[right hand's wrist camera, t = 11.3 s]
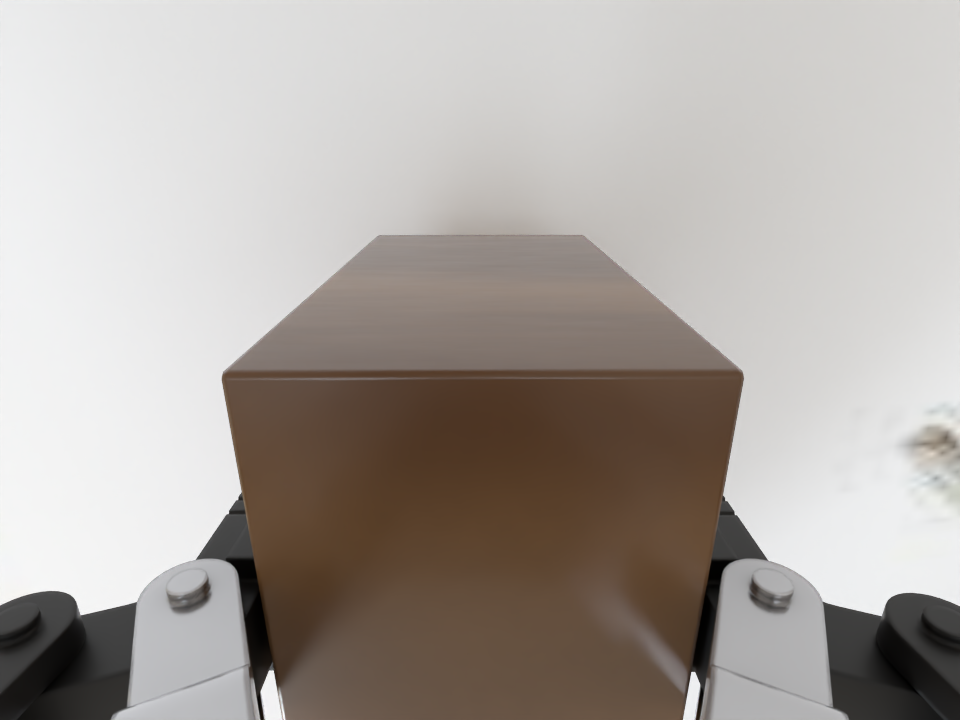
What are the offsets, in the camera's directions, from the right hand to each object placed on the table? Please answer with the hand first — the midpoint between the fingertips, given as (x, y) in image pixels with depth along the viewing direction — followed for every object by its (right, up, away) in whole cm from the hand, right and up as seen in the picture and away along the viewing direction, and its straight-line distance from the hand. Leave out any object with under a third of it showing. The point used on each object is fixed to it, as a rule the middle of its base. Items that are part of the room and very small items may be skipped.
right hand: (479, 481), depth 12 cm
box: (0, -6, +9) cm, 11 cm away
